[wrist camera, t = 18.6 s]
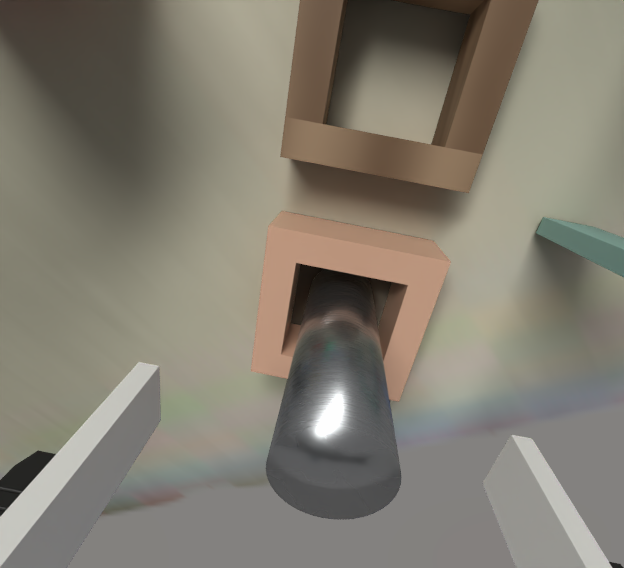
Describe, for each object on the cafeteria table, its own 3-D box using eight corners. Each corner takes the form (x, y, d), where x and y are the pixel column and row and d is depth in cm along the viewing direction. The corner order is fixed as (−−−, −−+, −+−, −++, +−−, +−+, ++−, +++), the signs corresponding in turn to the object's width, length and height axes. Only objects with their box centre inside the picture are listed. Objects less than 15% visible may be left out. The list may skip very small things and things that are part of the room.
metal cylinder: (305, 314, 25) (259, 504, 12) (315, 259, 23) (274, 413, 10) (363, 325, 24) (381, 530, 12) (378, 271, 23) (419, 442, 10)
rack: (264, 338, 26) (250, 371, 22) (281, 211, 22) (268, 225, 18) (391, 364, 26) (398, 401, 22) (433, 240, 21) (450, 261, 18)
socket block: (289, 154, 20) (280, 156, 17) (319, -64, 16) (313, -106, 13) (451, 185, 20) (468, 193, 17) (524, -27, 16) (560, -62, 13)
